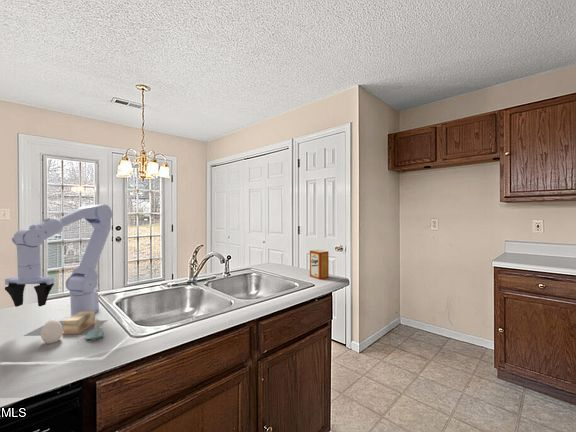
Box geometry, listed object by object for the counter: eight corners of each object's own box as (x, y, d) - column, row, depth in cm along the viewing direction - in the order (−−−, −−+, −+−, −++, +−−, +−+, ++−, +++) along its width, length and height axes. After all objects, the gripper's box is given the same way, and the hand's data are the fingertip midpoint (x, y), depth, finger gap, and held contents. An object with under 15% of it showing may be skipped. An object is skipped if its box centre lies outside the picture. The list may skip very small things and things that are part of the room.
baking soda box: (309, 276, 175) (309, 250, 175) (318, 274, 179) (318, 249, 178) (320, 279, 167) (319, 251, 167) (328, 278, 171) (328, 250, 171)
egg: (65, 338, 93) (65, 315, 93) (59, 345, 88) (59, 321, 88) (45, 341, 91) (44, 318, 91) (38, 348, 86) (37, 324, 86)
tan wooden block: (77, 332, 96) (76, 320, 96) (63, 332, 96) (63, 320, 96) (94, 321, 105) (94, 310, 105) (82, 321, 105) (81, 310, 105)
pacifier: (81, 347, 88) (104, 341, 91) (79, 327, 87) (103, 322, 91) (81, 338, 94) (103, 333, 97) (80, 319, 93) (102, 315, 97)
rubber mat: (52, 322, 106) (52, 321, 106) (108, 322, 106) (108, 320, 106) (23, 337, 94) (23, 335, 94) (85, 336, 94) (85, 334, 94)
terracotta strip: (81, 321, 105) (81, 321, 105) (98, 321, 106) (98, 320, 106) (59, 334, 95) (59, 333, 95) (78, 333, 95) (78, 333, 95)
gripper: (-5, 267, 92) (-4, 310, 93) (41, 267, 92) (42, 309, 93) (15, 263, 99) (16, 302, 100) (58, 263, 100) (59, 302, 100)
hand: (30, 305), depth 97 cm, fingers open, 7 cm apart
